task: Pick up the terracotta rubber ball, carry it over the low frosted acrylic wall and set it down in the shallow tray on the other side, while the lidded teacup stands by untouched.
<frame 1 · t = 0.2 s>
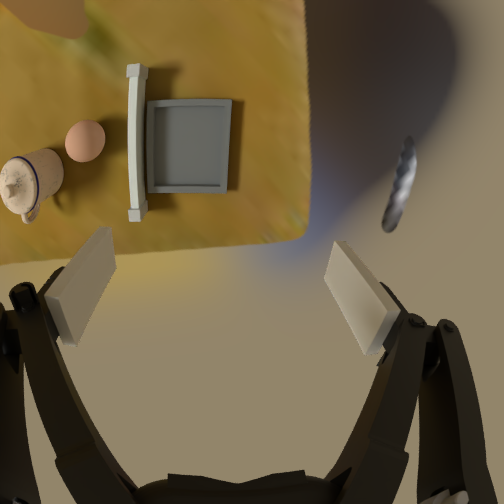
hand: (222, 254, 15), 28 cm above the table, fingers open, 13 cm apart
teacup with lid: (46, 179, 36), on the table
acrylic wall: (140, 140, 36), on the table
ball: (85, 140, 32), point 3 cm above the table
tray: (188, 145, 37), on the table
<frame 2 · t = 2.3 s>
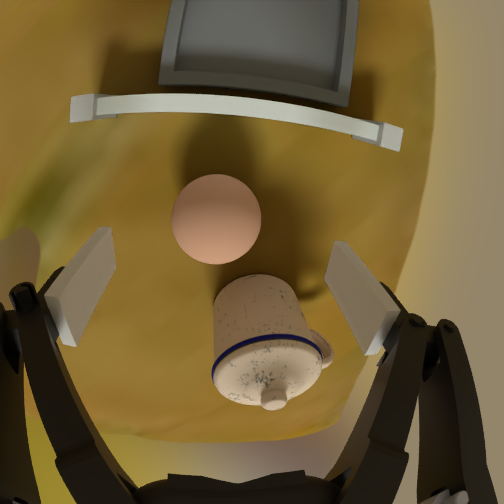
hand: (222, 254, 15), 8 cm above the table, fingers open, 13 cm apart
teacup with lid: (267, 308, 28), on the table
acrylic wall: (238, 107, 19), on the table
ball: (216, 219, 19), point 3 cm above the table
tray: (263, 24, 15), on the table
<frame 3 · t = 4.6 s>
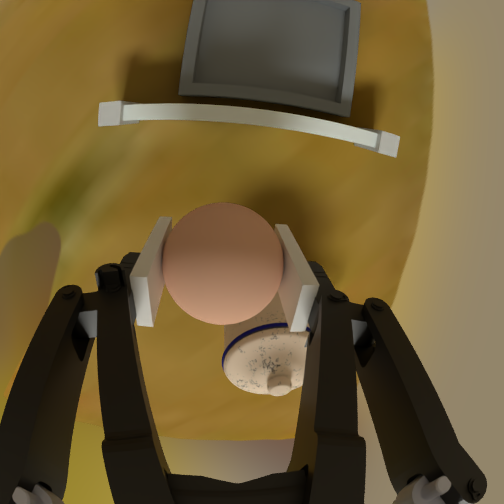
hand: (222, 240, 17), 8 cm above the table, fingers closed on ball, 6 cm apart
teacup with lid: (275, 304, 30), on the table
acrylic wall: (251, 117, 21), on the table
ball: (222, 263, 14), point 11 cm above the table, touching gripper
tray: (273, 39, 18), on the table
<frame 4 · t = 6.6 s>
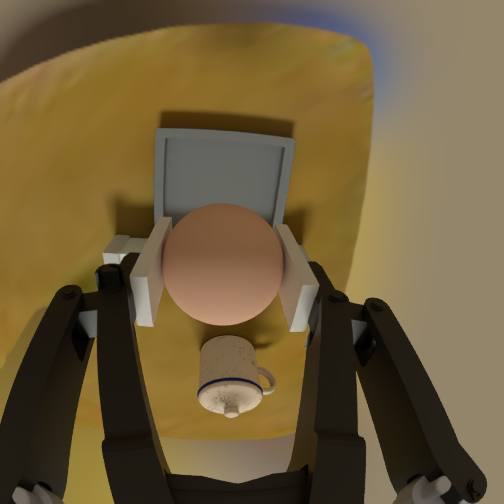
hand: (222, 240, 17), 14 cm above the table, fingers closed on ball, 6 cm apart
teacup with lid: (236, 352, 42), on the table
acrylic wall: (207, 246, 32), on the table
ball: (222, 264, 14), point 17 cm above the table, touching gripper
tray: (220, 184, 29), on the table
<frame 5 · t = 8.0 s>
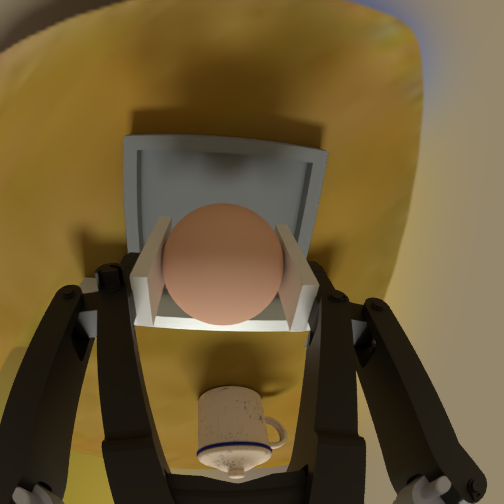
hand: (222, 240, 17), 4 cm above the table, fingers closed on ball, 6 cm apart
teacup with lid: (239, 400, 34), on the table
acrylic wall: (203, 293, 24), on the table
ball: (222, 264, 14), point 7 cm above the table, touching gripper
tray: (219, 214, 21), on the table
when the fingers open (1 cm above the table, at t = 9.0 s): ball stays where it is, resting on tray.
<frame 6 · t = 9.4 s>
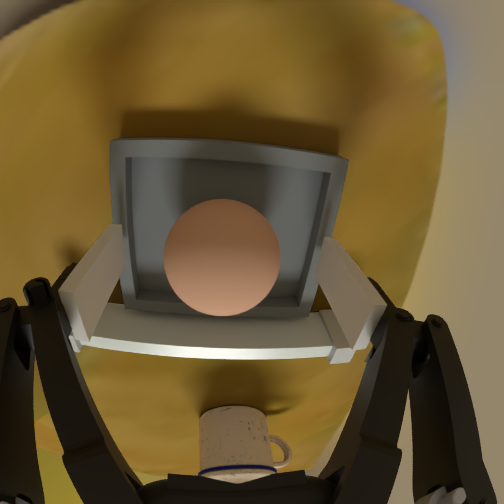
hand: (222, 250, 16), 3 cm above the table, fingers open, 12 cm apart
teacup with lid: (243, 418, 31), on the table
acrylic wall: (204, 315, 22), on the table
ball: (221, 257, 15), point 4 cm above the table, touching tray
tray: (222, 231, 18), on the table
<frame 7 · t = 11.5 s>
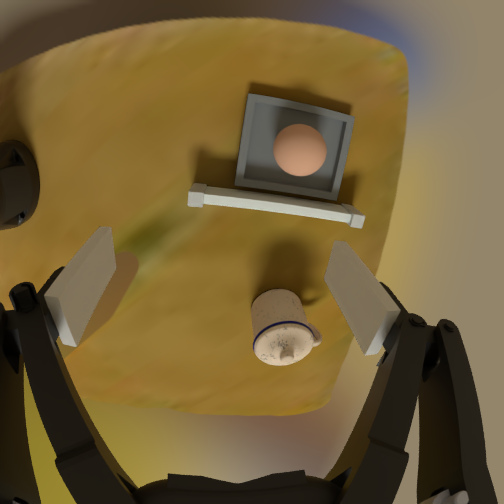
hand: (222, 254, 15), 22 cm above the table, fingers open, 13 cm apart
teacup with lid: (283, 309, 47), on the table
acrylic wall: (276, 198, 37), on the table
ball: (299, 149, 31), point 4 cm above the table, touching tray
tray: (293, 147, 34), on the table
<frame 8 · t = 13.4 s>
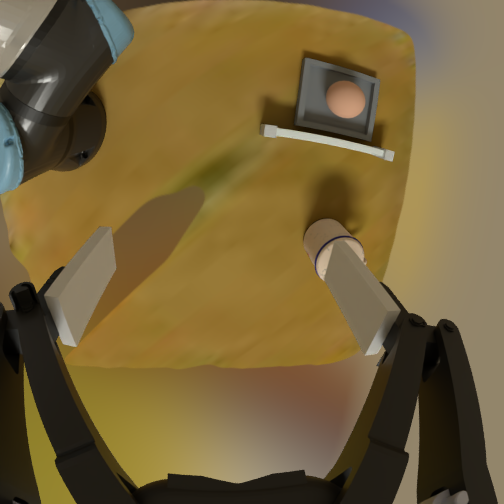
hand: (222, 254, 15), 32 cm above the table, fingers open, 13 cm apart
teacup with lid: (329, 240, 53), on the table
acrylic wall: (325, 139, 43), on the table
ball: (345, 99, 36), point 4 cm above the table, touching tray
tray: (337, 100, 40), on the table
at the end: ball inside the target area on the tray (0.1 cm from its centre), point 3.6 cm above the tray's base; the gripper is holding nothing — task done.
